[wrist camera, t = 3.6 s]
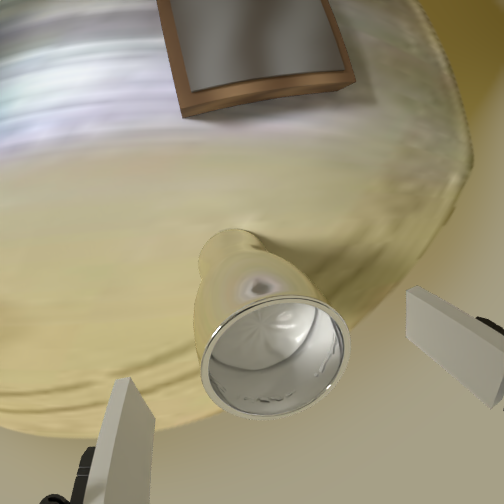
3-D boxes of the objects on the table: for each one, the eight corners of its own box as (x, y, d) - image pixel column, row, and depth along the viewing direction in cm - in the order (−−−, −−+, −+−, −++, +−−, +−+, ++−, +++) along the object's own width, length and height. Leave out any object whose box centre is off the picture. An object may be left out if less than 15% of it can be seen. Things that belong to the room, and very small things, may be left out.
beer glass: (178, 277, 25) (166, 395, 11) (220, 207, 24) (257, 256, 10) (245, 312, 27) (294, 435, 13) (287, 249, 26) (383, 330, 12)
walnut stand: (182, 118, 22) (180, 107, 18) (154, -8, 18) (150, -31, 14) (337, 91, 24) (358, 80, 20) (296, -24, 20) (309, -44, 16)
